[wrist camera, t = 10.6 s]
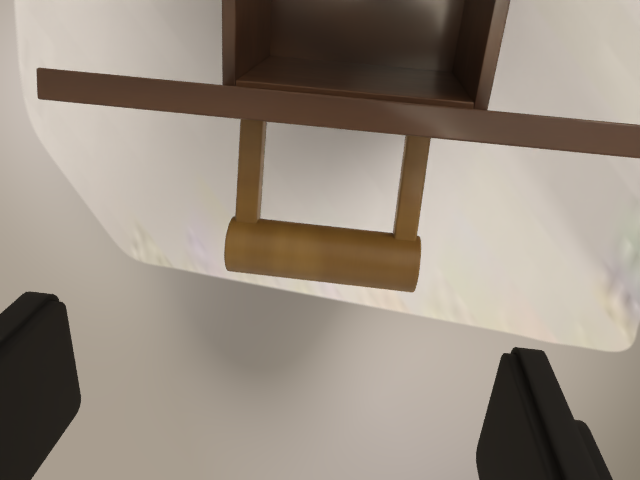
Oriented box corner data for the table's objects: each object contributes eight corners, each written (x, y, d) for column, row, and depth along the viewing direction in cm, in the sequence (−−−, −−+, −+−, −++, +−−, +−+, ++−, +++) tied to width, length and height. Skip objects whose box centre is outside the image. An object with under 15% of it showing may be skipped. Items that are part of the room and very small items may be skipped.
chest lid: (35, 67, 14) (43, 277, 16) (650, 125, 13) (598, 343, 15) (220, 86, 32) (216, 184, 33) (488, 112, 31) (471, 211, 32)
